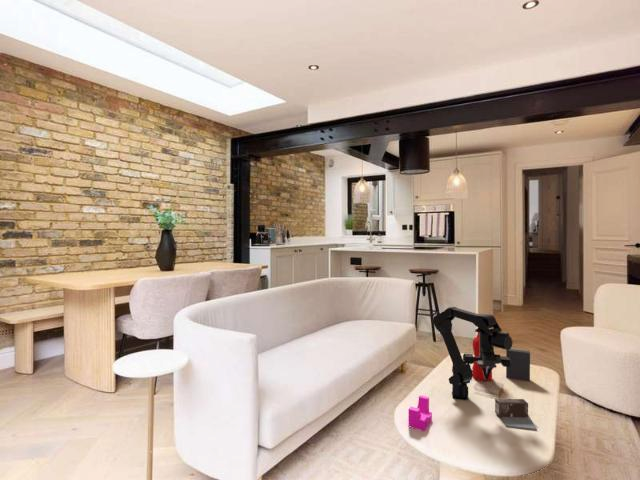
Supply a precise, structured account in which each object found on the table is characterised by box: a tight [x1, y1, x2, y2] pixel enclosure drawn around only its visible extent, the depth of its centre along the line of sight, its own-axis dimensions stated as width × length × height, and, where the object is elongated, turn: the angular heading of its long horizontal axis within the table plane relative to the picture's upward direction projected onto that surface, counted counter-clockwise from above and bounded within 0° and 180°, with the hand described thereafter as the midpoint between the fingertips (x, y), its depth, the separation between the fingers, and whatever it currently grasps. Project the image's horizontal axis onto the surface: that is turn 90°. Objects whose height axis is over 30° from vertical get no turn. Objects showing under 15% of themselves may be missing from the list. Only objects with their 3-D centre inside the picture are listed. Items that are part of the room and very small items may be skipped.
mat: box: [501, 414, 538, 431], centre depth 154 cm, size 11×15×1 cm
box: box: [494, 398, 529, 418], centre depth 156 cm, size 6×4×12 cm
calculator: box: [505, 348, 531, 382], centre depth 197 cm, size 11×4×15 cm, turn 63°
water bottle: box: [468, 332, 493, 382], centre depth 198 cm, size 9×11×25 cm
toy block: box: [408, 395, 433, 432], centre depth 152 cm, size 15×6×8 cm, turn 147°
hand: (486, 379), depth 162 cm, fingers closed
